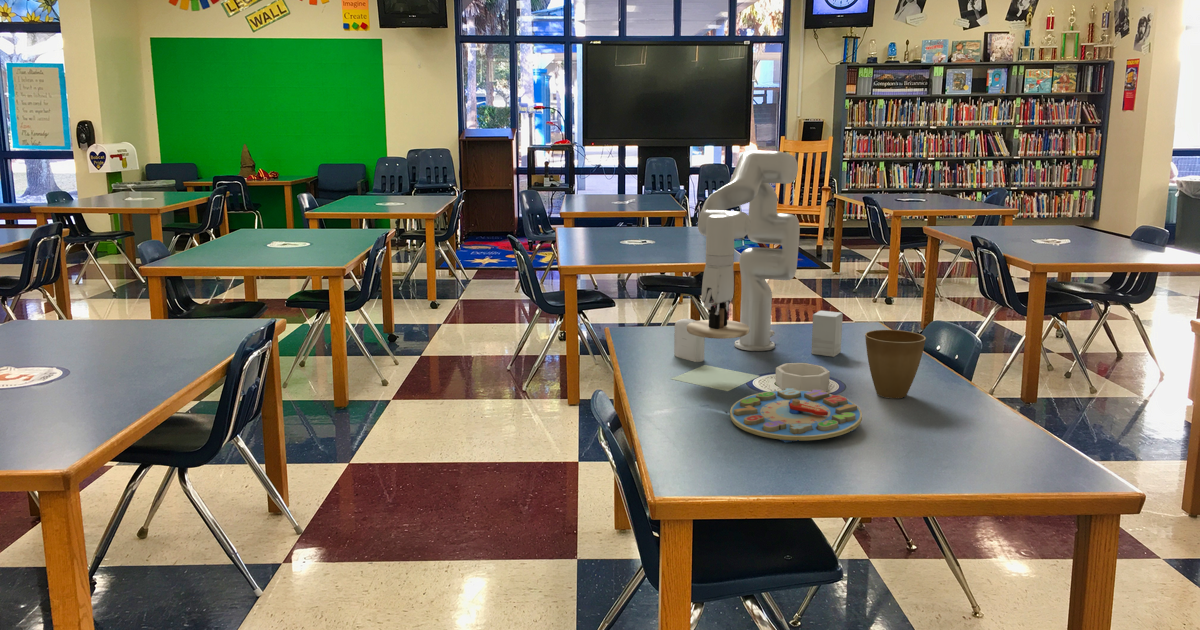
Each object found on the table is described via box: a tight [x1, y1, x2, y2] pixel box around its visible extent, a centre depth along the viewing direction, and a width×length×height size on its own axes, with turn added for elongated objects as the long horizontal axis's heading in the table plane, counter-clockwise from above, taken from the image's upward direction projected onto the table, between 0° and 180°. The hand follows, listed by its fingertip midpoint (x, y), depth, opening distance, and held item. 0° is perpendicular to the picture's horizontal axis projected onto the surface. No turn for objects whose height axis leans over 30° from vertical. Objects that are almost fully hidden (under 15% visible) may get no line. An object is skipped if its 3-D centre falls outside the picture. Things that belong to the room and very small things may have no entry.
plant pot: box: [864, 329, 927, 399], centre depth 230 cm, size 15×15×16 cm
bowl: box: [774, 362, 831, 392], centre depth 237 cm, size 13×13×5 cm
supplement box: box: [811, 310, 844, 358], centre depth 271 cm, size 7×7×13 cm
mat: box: [670, 364, 761, 392], centre depth 244 cm, size 18×18×1 cm
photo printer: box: [673, 318, 706, 363], centre depth 263 cm, size 10×4×12 cm, turn 39°
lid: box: [687, 308, 749, 340], centre depth 241 cm, size 17×17×6 cm
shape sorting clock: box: [729, 388, 863, 443], centre depth 209 cm, size 31×30×6 cm
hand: (717, 326), depth 241 cm, fingers closed on lid, 3 cm apart
